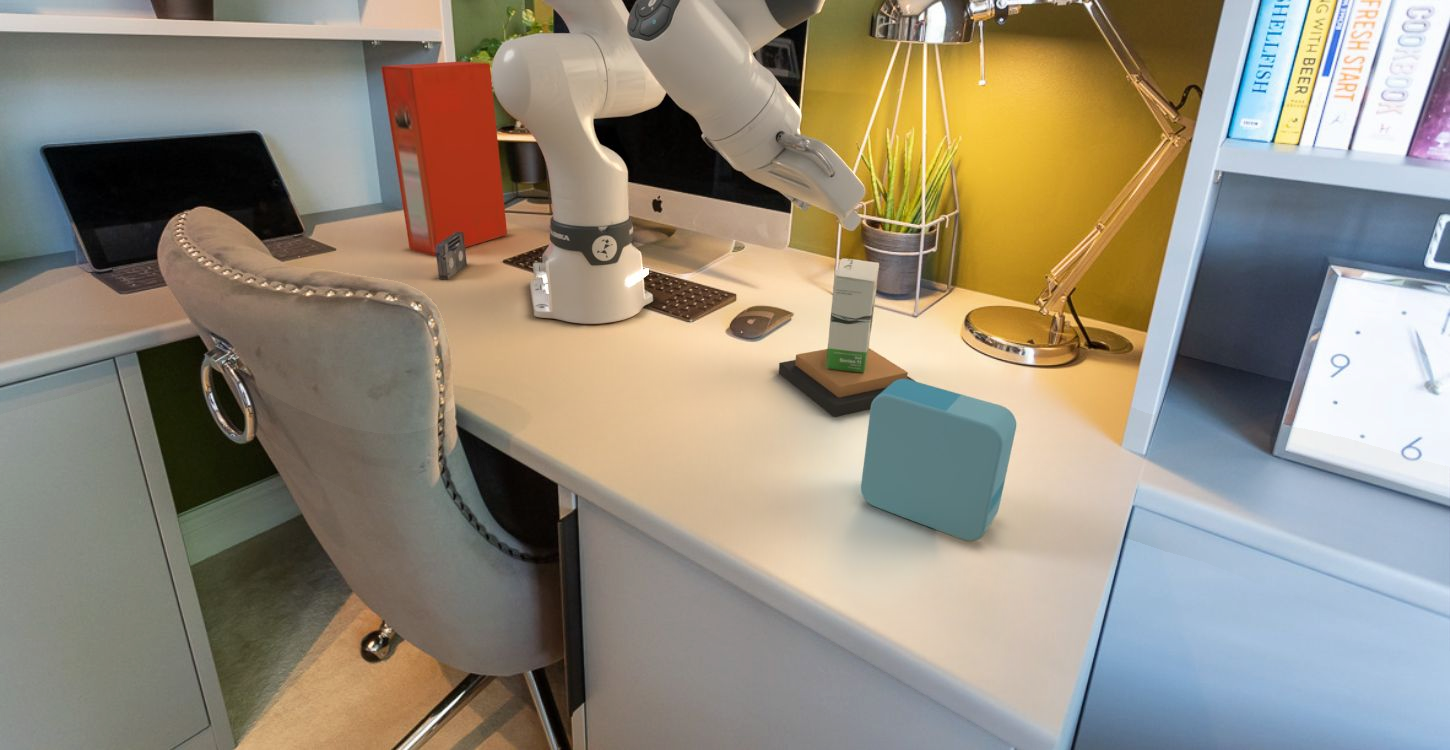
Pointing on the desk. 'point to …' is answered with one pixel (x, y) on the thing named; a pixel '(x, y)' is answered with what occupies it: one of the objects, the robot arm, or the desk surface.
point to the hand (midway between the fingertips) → (829, 214)
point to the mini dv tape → (451, 255)
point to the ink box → (852, 315)
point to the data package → (937, 457)
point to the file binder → (446, 151)
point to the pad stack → (841, 381)
